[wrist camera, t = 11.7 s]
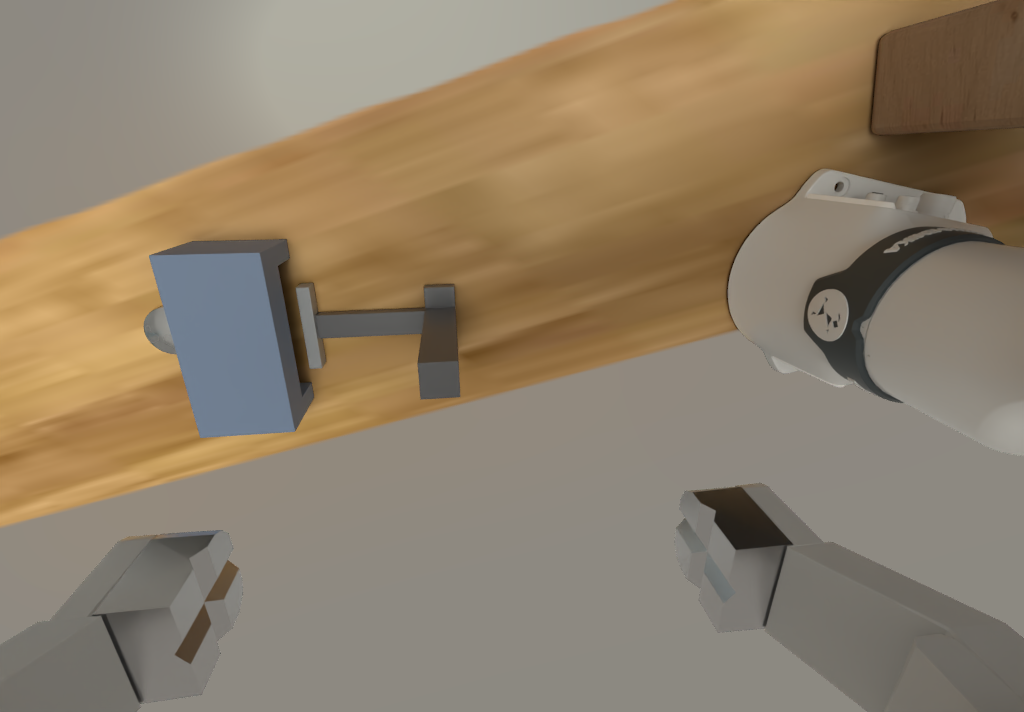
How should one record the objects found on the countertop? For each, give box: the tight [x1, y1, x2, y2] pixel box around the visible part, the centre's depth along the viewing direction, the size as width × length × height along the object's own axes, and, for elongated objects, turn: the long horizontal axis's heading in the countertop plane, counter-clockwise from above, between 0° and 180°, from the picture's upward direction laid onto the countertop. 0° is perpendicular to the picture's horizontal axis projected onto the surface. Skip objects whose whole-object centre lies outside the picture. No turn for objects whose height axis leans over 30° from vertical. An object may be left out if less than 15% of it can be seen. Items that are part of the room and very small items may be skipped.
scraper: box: [296, 283, 460, 399], centre depth 36 cm, size 12×7×13 cm, turn 91°
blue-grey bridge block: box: [149, 239, 314, 438], centre depth 38 cm, size 7×14×6 cm, turn 1°
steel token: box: [144, 306, 177, 354], centre depth 40 cm, size 4×4×1 cm
